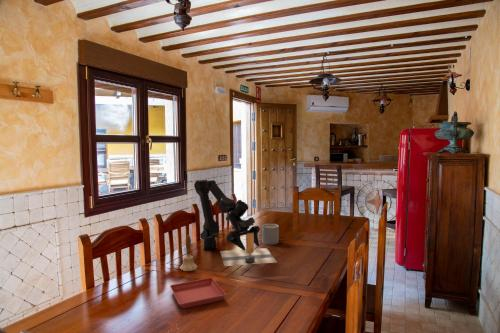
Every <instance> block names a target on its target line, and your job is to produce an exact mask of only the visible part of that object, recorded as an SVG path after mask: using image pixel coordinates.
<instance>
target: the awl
mask: <svg viewBox="0 0 500 333" xmlns="http://www.w3.org/2000/svg"><path fill="white" fill-rule="evenodd" d="M254 249H255V243H254V234H253V233H246V235H245V250H246V252H247V253H249V256H248V257H246V258H245V262H246V263H254V262H255V257H253V256H251V253H253V252H254Z"/></svg>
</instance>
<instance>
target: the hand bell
mask: <svg viewBox="0 0 500 333" xmlns="http://www.w3.org/2000/svg"><path fill="white" fill-rule="evenodd" d="M191 245H192V239H191V236H190V235H189V234H187V235H186V237H185V246H186V255H185V256H184V257H183V261H182V264H181V265H180V266H179V270H180V269H181V270H180V271H182V270H183V272H191V271H195V270H197V269H198V266H197V264H196V263H195V261H194V256H193V255H191Z"/></svg>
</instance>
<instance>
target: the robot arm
mask: <svg viewBox="0 0 500 333" xmlns="http://www.w3.org/2000/svg"><path fill="white" fill-rule="evenodd" d="M218 185H219V184H217V182H216V180H214V179H213V180H212V179H210V180H208V179H201V180H200V179H199V180H196V181H195V182H194V184H193V186H194V189H195V193H196V194H197V195H198V196H199V199H200V203H201V208H202V214H203V215H202V216H203V219H204V223H203V225H202V226H203V227H202V229H203V230H202V232H201V233H200V235H199V236H200V239H201V240H203V251H213V250H216V248H217V240H216V238H218V237H219V232H220V226H219V222H218V221H216V220H215V218H214V215H213V210H212V206H211V201H210V196H209V195H210V194H209V193H210V192H211V194H212V195H213V196H214V198H215V200H216V201H217V202H218V207H219V209H220V211H221V213H222V214H226V217H225V221H229V222H230V224H231V225H232V227H231V230H233V231H229V233H228V234H227V235H226V237H225V239H226V241H227V243H230V244H233V245H235V246H236V247H238V248H239V249H240V250H246V246H245V245H244V243H243V241H242V240H241V237H242V236H246V233H253V234H254V245H255V246H257V247H259V246H260V243H259V237H258V236H259V233H260V231H261V228H260V226H259V225H254V224H256V221H255V219H254V217H249V218H247V219H242V217H243V216H244V215H245V214H246V212H247V211H248V210H249V205H248V204H247V203H246V202H245V201H242V200H241V199H238V200H237V201H236V202H235V201H234V200H233V199H231V198H230V197H228V196H227V195H225V193H224V192H223V191H222V190H221V188H220V186H218ZM248 229H249V230H248Z"/></svg>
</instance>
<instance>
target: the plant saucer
mask: <svg viewBox="0 0 500 333" xmlns="http://www.w3.org/2000/svg"><path fill="white" fill-rule="evenodd" d="M169 287H170V289H171V291H172V293H173V296H174V297H175V300H176V301H177V303H178V305H179V306H180V307H181V308H182V309H189V308H193V307H196V306H202V305H207V304H211V303H216V302H220V301H221V300H223V299H224V297H225V296H226V295H227V294H226V292H225V291H224V290H223V288H221V286H220V285H219V284H218V283H217V281H216V280H215V278H213V277H208V278H207V277H206V278H201V279H198V280H197V279H196V280H191V281H186V282H180V283H174V284H171V285H169Z"/></svg>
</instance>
